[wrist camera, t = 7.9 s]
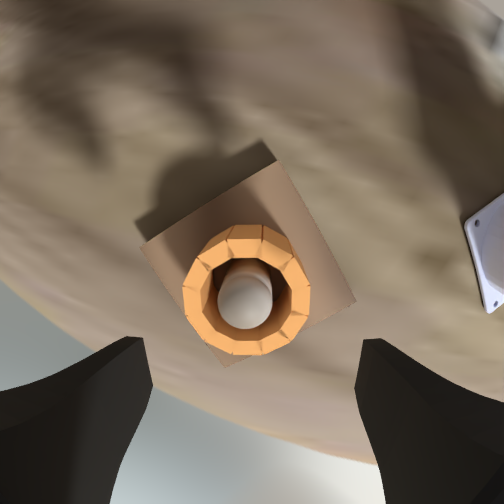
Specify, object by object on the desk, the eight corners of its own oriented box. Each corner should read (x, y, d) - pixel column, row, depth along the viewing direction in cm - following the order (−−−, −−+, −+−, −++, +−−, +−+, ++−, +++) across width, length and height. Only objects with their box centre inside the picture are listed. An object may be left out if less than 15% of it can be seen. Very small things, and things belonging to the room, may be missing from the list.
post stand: (277, 160, 17) (284, 155, 11) (350, 291, 19) (383, 342, 13) (148, 241, 18) (100, 273, 12) (227, 355, 20) (214, 419, 14)
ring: (268, 204, 16) (269, 214, 13) (318, 292, 17) (330, 320, 14) (179, 258, 17) (159, 279, 14) (233, 336, 18) (227, 371, 15)
